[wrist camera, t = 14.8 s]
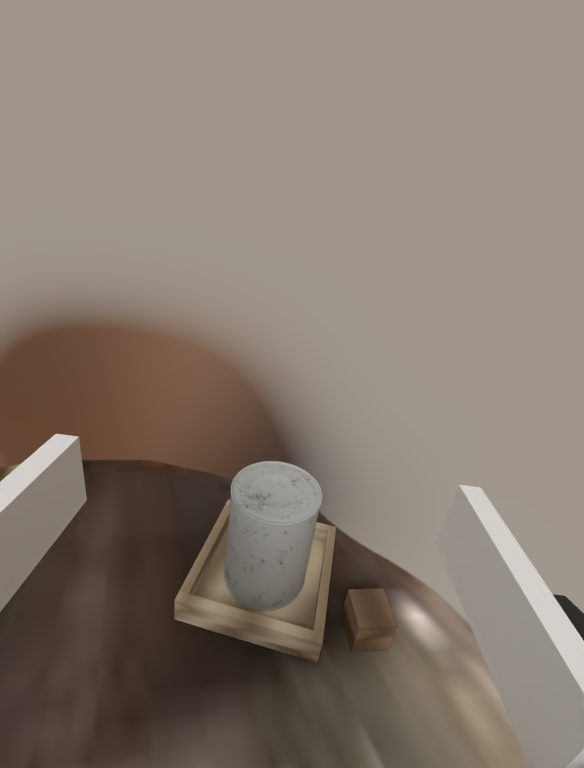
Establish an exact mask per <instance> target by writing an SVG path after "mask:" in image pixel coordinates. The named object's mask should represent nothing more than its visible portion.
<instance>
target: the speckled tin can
mask: <svg viewBox="0 0 584 768" xmlns="http://www.w3.org/2000/svg"><path fill="white" fill-rule="evenodd" d="M321 503H322V491H321V488H320V485H319V484H318V482H317V481H316V479H315V478H314V477H313V476H312V475H311V474H309V473H308V472H307V471H305V470H304V469H301V468H300V467H298V466H295V465H292V464H289V463H285V462H279V461H265V462H258V463H255V464H251V465H249V466H247V467H245V468H244V469H242V470H241V471H240V472H239V473H238V474H237V475H236V476H235V478H234V479H233V481H232V484H231V502H230V514H229V526H228V538H227V549H226V561H225V566H224V579H225V583H226V586H227V588H228V590H229V592H230V593H231V594H232V596H233V597H234V598H235V599H236V600H237V601H239V602H240V603H241V604H243V605H244V606H247V607H249V608H252V609H255V610H261V611H271V610H276V609H280V608H283V607H285V606H286V605H288V604H290V603H291V602H292V601H294V600H295V599H296V598H297V597H298V595H299V594H300V592H301V590H302V588H303V585H304V582H305V574H306V569H307V565H308V560H309V555H310V551H311V546H312V541H313V537H314V532H315V528H316V523H317V518H318V514H319V509H320V506H321Z"/></svg>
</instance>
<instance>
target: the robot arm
mask: <svg viewBox="0 0 584 768" xmlns="http://www.w3.org/2000/svg"><path fill="white" fill-rule="evenodd" d="M86 500H87V497H86V489H85V481H84V473H83V465H82V458H81V449H80V441H79V437H77V436H69V435H61V434H55V435H54V436H53V437H52V438H51V439H49V440H48V441H47V442H46V443H45V444H44V445H42V446H41V447H40V448H39V449H38V450H37V451H35V452H34V453H33V454H32V455H31V456H30V457H29V458H28V459H26V460H25V461H24V462H23V463H21V464H20V465H19V466H18V467H17V468H16V469H15V470H13V471H12V472H11V473H10V474H9V475H8V476H6V477H5V478H4V479H3V480H2V481H1V482H0V612H1V610H2V609H3V608H4V607H5V605H6V604H7V603H8V601H9V600H10V599H11V597H12V596H13V595H14V594H15V592H16V591H17V590H18V588H19V587H20V586H21V585H22V583H23V582H24V581H25V579H26V578H27V577H28V575H29V574H30V573H31V572H32V570H33V569H34V568H35V566H36V565H37V564H38V563H39V561H40V560H41V559H42V557H43V556H44V555H45V553H46V552H47V551H48V550H49V548H50V547H51V546H52V544H53V543H54V542H55V541H56V539H57V538H58V537H59V535H60V534H61V533H62V531H63V530H64V529H65V528H66V526H67V525H68V524H69V522H70V521H71V520H72V519H73V517H74V516H75V515H76V513H77V512H78V511H79V509H80V508H81V507H82V506H83V504H84V503H85V502H86ZM436 543H437V546H438V549H439V551H440V553H441V555H442V558H443V561H444V563H445V565H446V568H447V570H448V573H449V575H450V577H451V580H452V582H453V584H454V587H455V589H456V591H457V594H458V596H459V599H460V601H461V604H462V606H463V609H464V611H465V613H466V616H467V618H468V620H469V623H470V625H471V628H472V630H473V632H474V635H475V637H476V640H477V642H478V644H479V647H480V649H481V652H482V654H483V656H484V659H485V661H486V664H487V666H488V668H489V671H490V673H491V676H492V678H493V680H494V683H495V685H496V687H497V690H498V692H499V695H500V697H501V699H502V702H503V704H504V707H505V709H506V711H507V714H508V716H509V719H510V721H511V723H512V726H513V728H514V731H515V733H516V735H517V738H518V740H519V743H520V745H521V747H522V750H523V752H524V755H525V757H526V759H527V762H528V764H529V766H530V768H584V613H582V612H581V611H580V610H579V609H578V608H577V607H576V606H575V605H574V604H573V603H572V602H571V601H570V600H569V599H568V598H566V597H565V596H561V595H553V594H552V593H551V592H550V590H549V589H548V587H547V586H546V584H545V583H544V581H543V580H542V578H541V577H540V575H539V574H538V572H537V571H536V569H535V568H534V566H533V565H532V563H531V562H530V560H529V559H528V557H527V556H526V554H525V553H524V551H523V550H522V548H521V547H520V546H519V544H518V542H517V541H516V539H515V538H514V537H513V535H512V533H511V532H510V531H509V529H508V528H507V526H506V525H505V523H504V522H503V520H502V519H501V517H500V516H499V514H498V513H497V511H496V510H495V508H494V507H493V505H492V504H491V503H490V501H489V499H488V498H487V496H486V495H485V493H484V492H483V490H482V489H481V488H480V487H472V486H464V485H459V487H458V489H457V491H456V494H455V496H454V499H453V501H452V504H451V506H450V509H449V511H448V514H447V516H446V519H445V521H444V523H443V526H442V528H441V531H440V533H439V536H438V538H437V541H436Z"/></svg>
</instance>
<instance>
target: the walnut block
mask: <svg viewBox="0 0 584 768" xmlns="http://www.w3.org/2000/svg"><path fill="white" fill-rule="evenodd" d="M342 617H343V621H344V625H345V629H346V633H347V637H348V641H349V645H350V649H351V652H360V651H376V650H388V649H389V646H390V644H391V641H392V639H393V636H394V634H395V631H396V629H397V626H398V625H397V623H396V620H395V617H394V615H393V612H392V610H391V607H390V604H389V602H388V599H387V596H386V594H385V591H384V589H383V588H376V589H348V592H347V595H346V599H345V602H344V606H343V609H342Z"/></svg>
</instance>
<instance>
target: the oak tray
mask: <svg viewBox="0 0 584 768" xmlns="http://www.w3.org/2000/svg"><path fill="white" fill-rule="evenodd" d="M230 502H231V500H228V501H227V503H226V505H225V507H224V508H223V510H222V512H221V514H220V516H219V518H218V520H217V522H216V523H215V525H214V527H213V529H212V531H211V533H210V535H209V537H208V538H207V540H206V542H205V544H204V546H203V548H202V550H201V552H200V553H199V555H198V557H197V559H196V561H195V563H194V565H193V567H192V568H191V570H190V572H189V574H188V576H187V578H186V580H185V582H184V583H183V585H182V587H181V589H180V591H179V593H178V595H177V597H176V598H175V620H178V621H182V622H185V623H188V624H191V625H195V626H198V627H201V628H204V629H208V630H211V631H214V632H218V633H221V634H224V635H227V636H231V637H234V638H237V639H241V640H244V641H247V642H250V643H254V644H257V645H260V646H264V647H267V648H270V649H273V650H277V651H280V652H283V653H286V654H290V655H293V656H296V657H300V658H303V659H306V660H309V661H313V662H316V663H317V662H318V659H319V655H320V651H321V648H322V644H323V636H324V627H325V619H326V610H327V601H328V593H329V584H330V576H331V567H332V559H333V550H334V542H335V533H336V527H334V526H330V525H326V524H322V523H318V522H317V523H316V528H315V532H314V537H313V541H312V546H311V551H310V555H309V560H308V565H307V569H306V574H305V582H304V585H303V588H302V590H301V592H300V594H299V595H298V597H297V598H296V599H295V600H294V601H292V602H291V603H290V604H288V605H286V606H285V607H283V608H280V609H276V610H271V611H261V610H255V609H252V608H249V607H247V606H244V605H243V604H241V603H240V602H239V601H237V600H236V599H235V598H234V597H233V596H232V594H231V593H230V592H229V590H228V588H227V586H226V583H225V579H224V566H225V561H226V549H227V538H228V526H229V514H230Z"/></svg>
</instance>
